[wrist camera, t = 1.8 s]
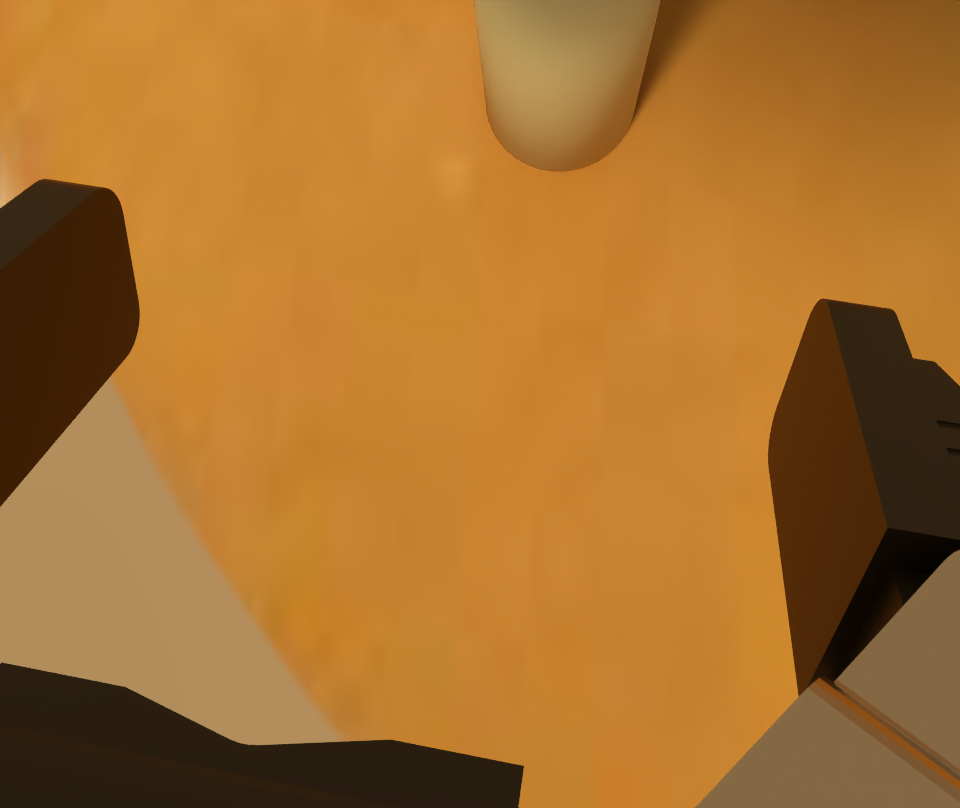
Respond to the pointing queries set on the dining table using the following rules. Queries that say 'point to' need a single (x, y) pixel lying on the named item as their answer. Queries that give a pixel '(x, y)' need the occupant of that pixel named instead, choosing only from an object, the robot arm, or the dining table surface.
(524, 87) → the salt mill
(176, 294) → the dining table surface
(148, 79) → the dining table surface
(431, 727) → the dining table surface
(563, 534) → the dining table surface
